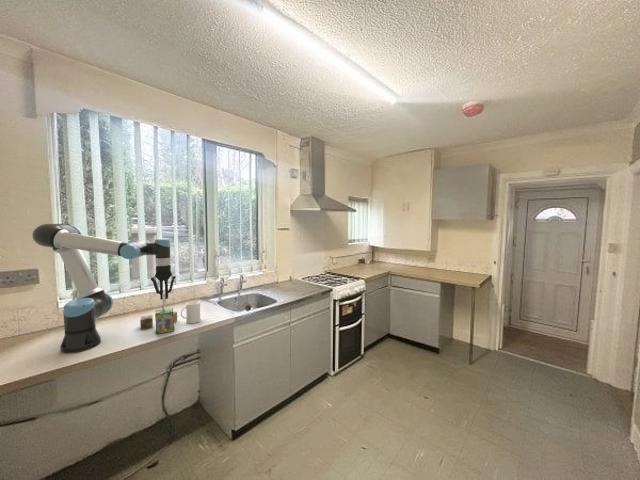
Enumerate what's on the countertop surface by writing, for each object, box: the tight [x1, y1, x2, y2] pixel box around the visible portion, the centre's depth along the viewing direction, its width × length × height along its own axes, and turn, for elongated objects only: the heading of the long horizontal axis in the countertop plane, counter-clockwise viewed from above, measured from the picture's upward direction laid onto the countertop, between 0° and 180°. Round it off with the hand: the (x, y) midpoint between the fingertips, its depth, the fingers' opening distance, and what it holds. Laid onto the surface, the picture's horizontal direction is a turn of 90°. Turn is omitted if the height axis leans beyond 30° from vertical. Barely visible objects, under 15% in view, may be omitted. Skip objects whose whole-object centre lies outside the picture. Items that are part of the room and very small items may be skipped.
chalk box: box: [154, 304, 175, 335], centre depth 153 cm, size 9×9×15 cm
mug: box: [180, 300, 201, 324], centre depth 167 cm, size 12×8×12 cm
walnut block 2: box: [173, 311, 178, 324], centre depth 165 cm, size 6×6×6 cm
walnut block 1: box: [139, 314, 154, 330], centre depth 158 cm, size 6×6×6 cm
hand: (164, 304), depth 153 cm, fingers closed
